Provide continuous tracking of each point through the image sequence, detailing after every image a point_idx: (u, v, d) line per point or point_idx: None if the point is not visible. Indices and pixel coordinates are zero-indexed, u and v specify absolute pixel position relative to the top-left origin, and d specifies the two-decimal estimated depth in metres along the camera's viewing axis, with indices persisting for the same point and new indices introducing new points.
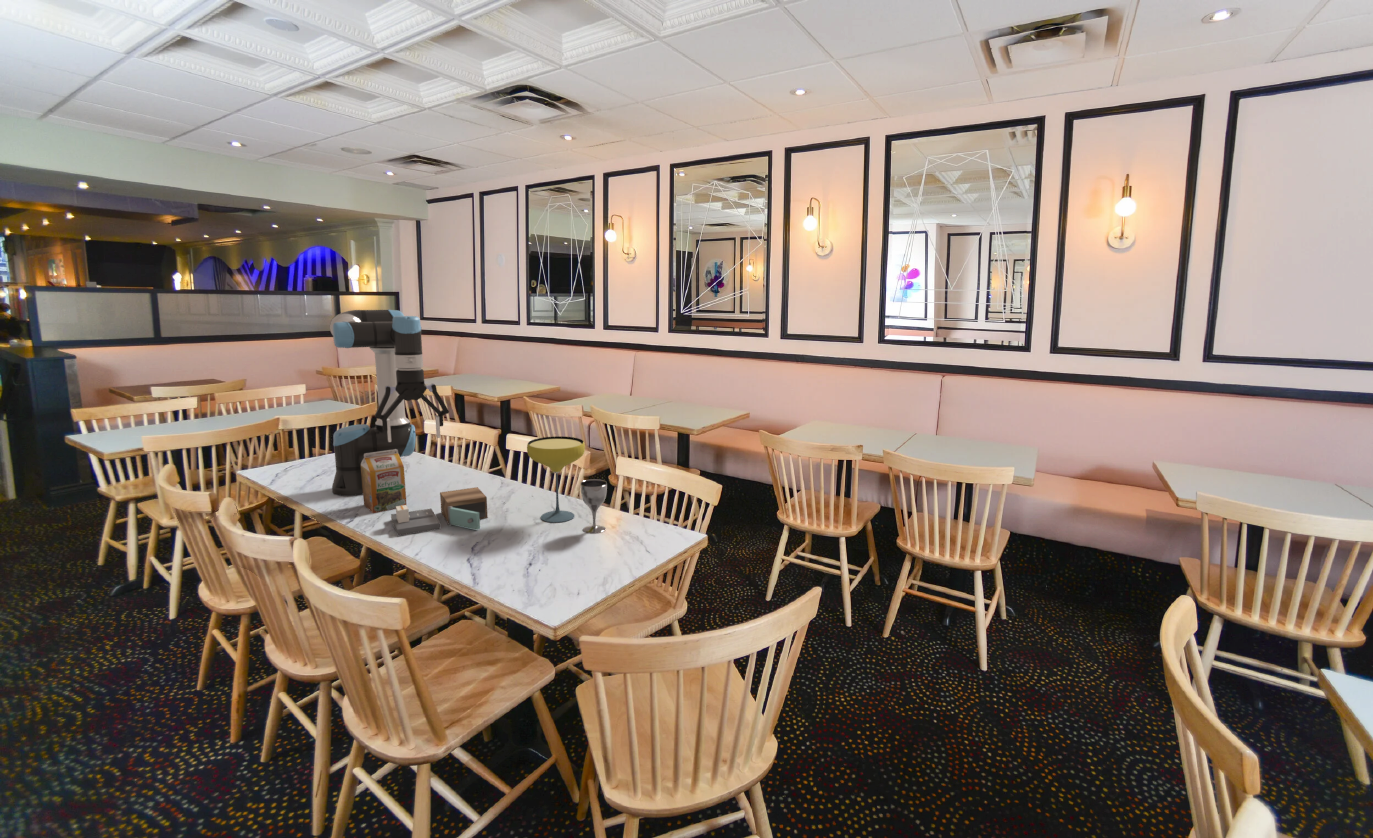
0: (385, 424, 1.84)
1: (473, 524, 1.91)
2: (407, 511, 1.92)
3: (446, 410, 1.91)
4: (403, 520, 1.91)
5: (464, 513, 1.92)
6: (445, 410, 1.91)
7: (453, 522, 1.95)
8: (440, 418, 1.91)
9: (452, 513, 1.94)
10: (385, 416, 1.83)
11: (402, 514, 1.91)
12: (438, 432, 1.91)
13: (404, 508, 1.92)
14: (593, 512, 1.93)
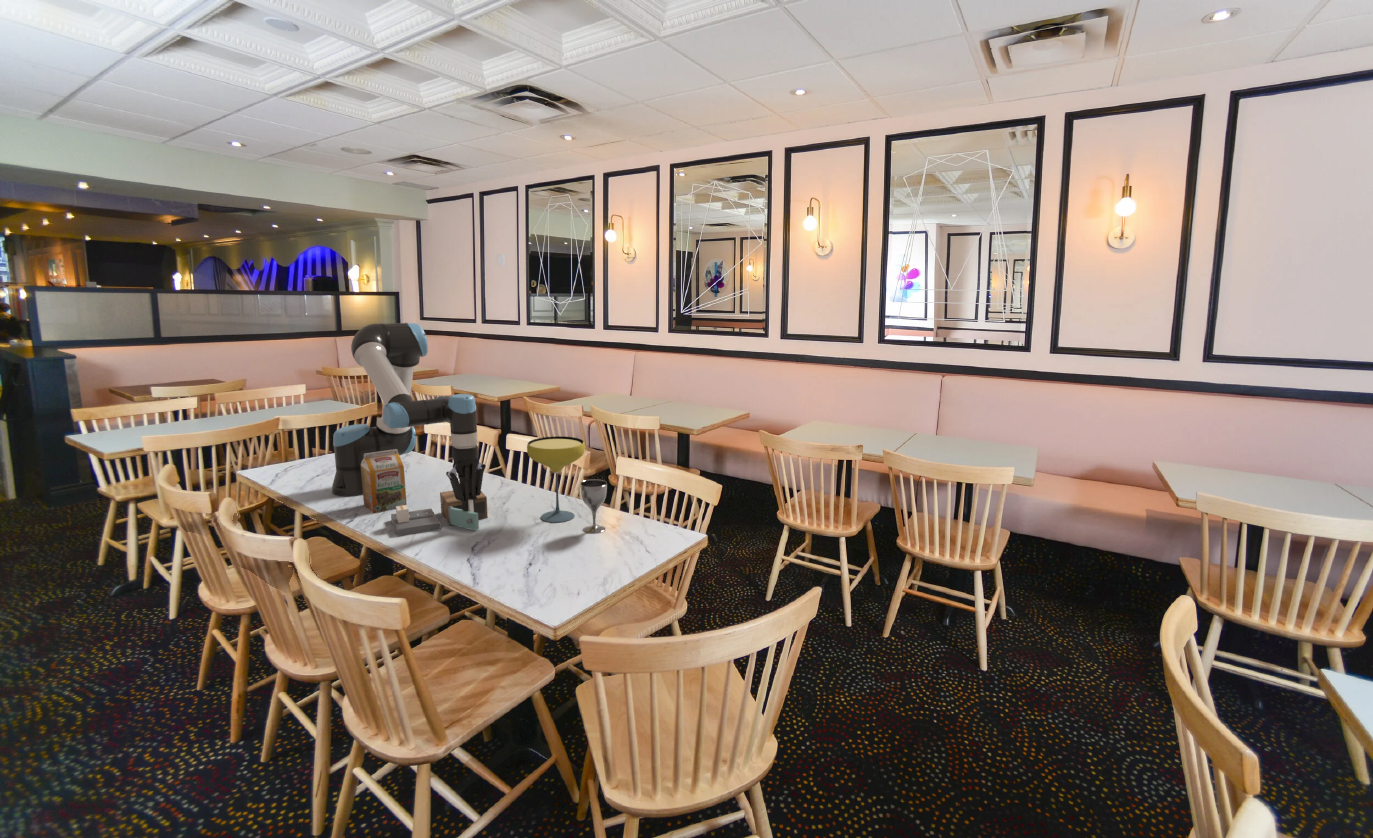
0: None
1: (472, 524, 1.91)
2: (407, 511, 1.92)
3: None
4: (403, 520, 1.91)
5: (463, 513, 1.92)
6: None
7: (453, 522, 1.95)
8: None
9: (452, 513, 1.94)
10: None
11: (402, 514, 1.91)
12: None
13: (404, 508, 1.92)
14: (593, 512, 1.93)
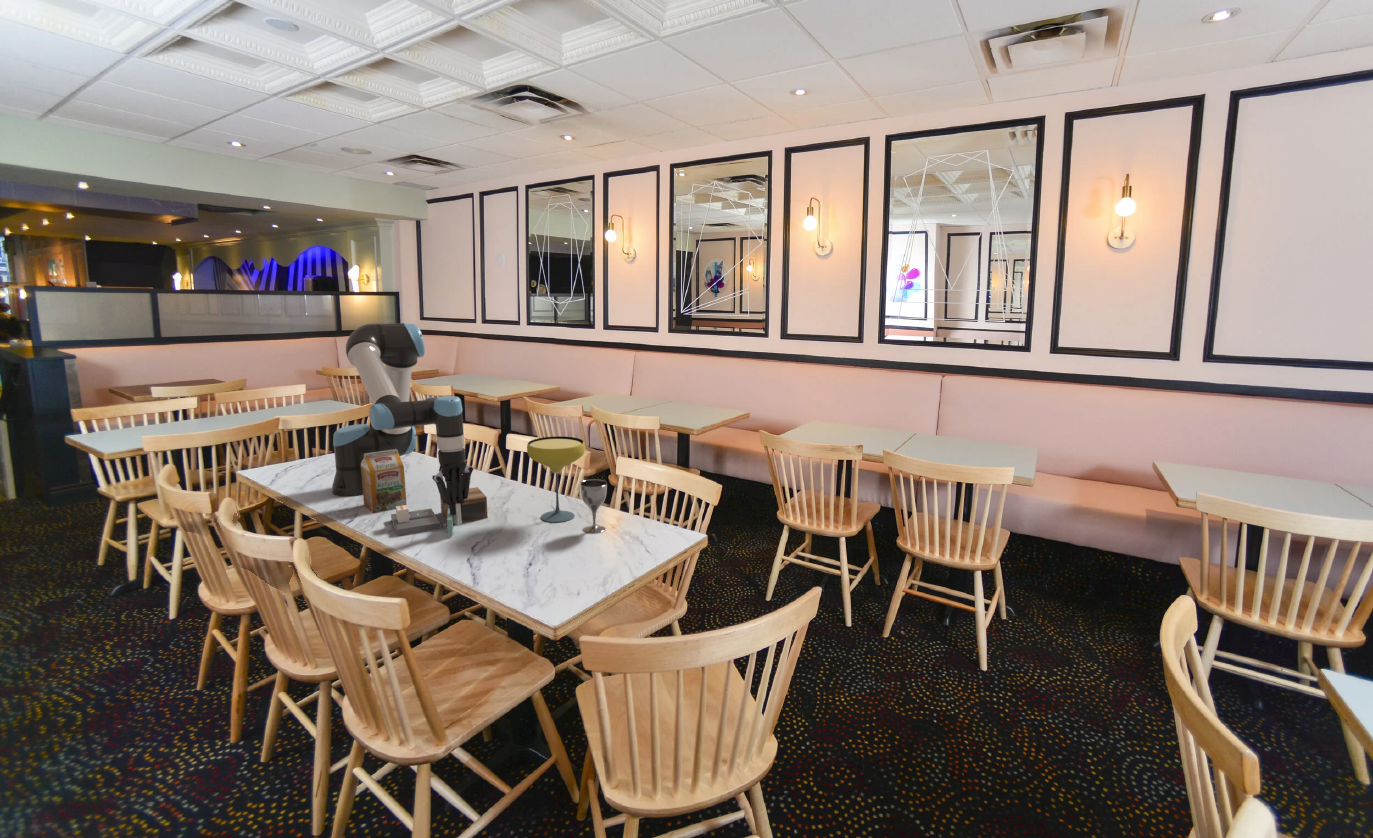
0: None
1: None
2: (407, 511, 1.92)
3: None
4: (403, 520, 1.91)
5: None
6: None
7: None
8: None
9: None
10: None
11: (402, 514, 1.91)
12: None
13: (404, 508, 1.92)
14: (593, 512, 1.93)
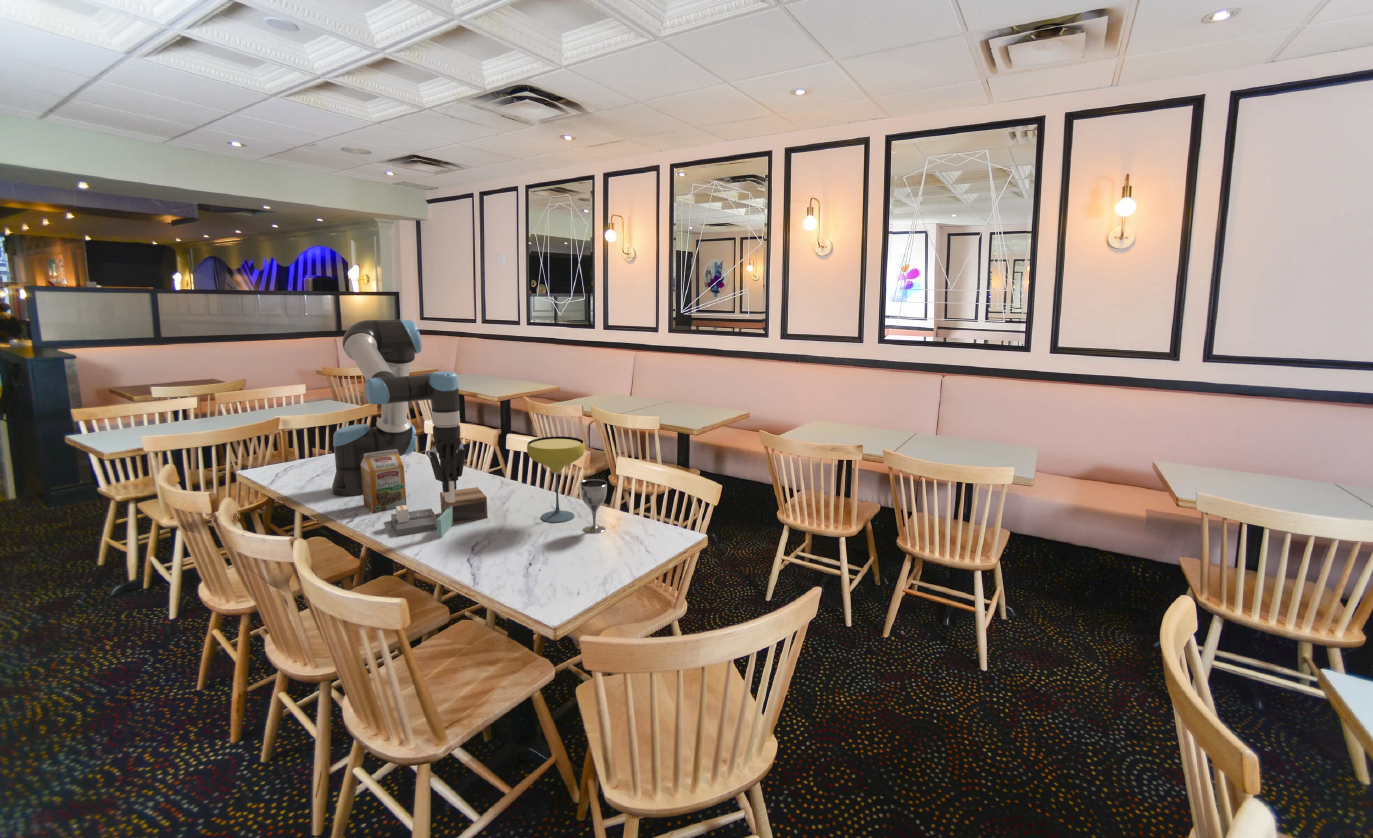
0: None
1: None
2: (407, 511, 1.92)
3: None
4: (403, 520, 1.91)
5: None
6: None
7: None
8: None
9: None
10: None
11: (402, 514, 1.91)
12: None
13: (404, 508, 1.92)
14: (593, 512, 1.93)
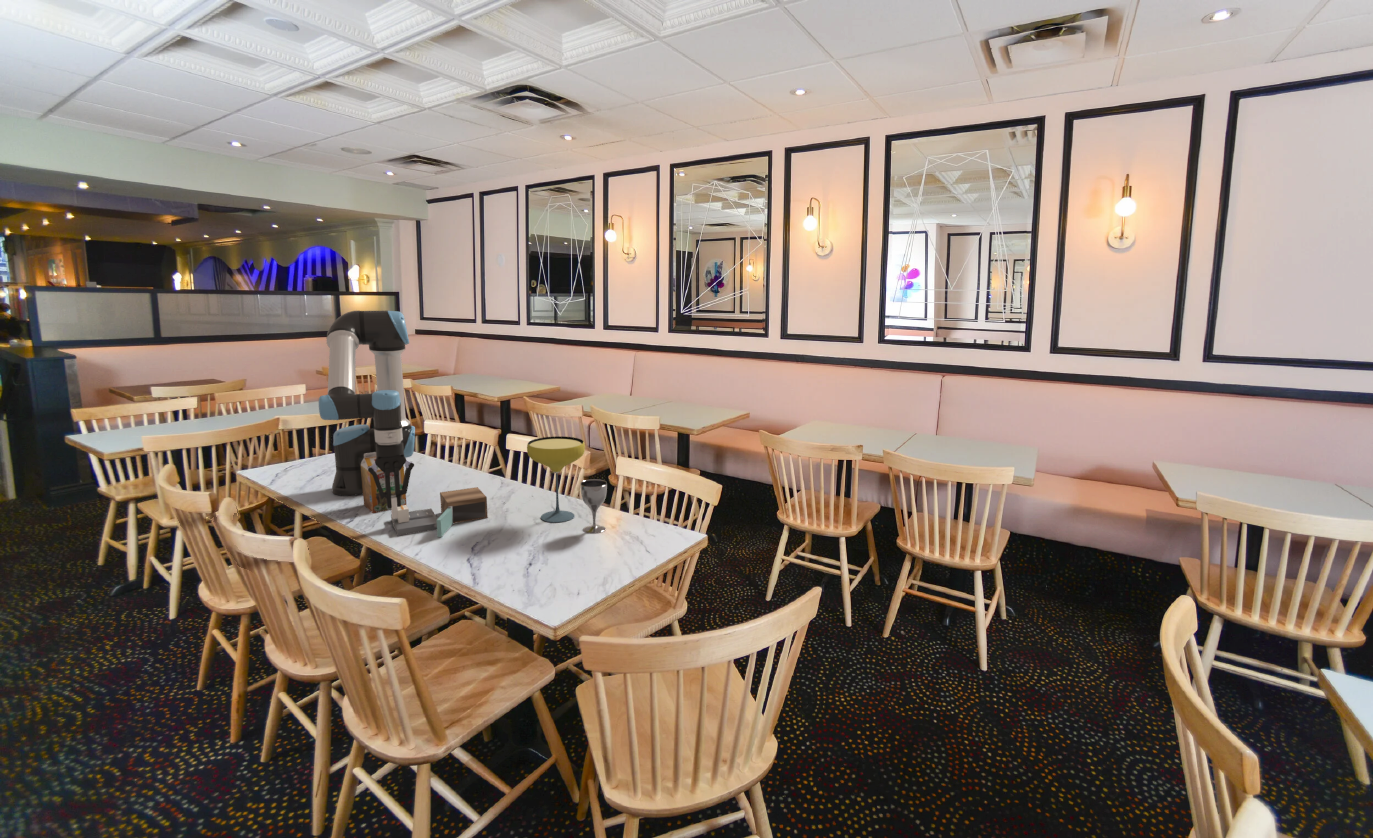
0: (389, 502, 1.90)
1: None
2: (407, 511, 1.92)
3: (405, 491, 1.91)
4: (403, 520, 1.92)
5: None
6: (404, 490, 1.91)
7: None
8: (398, 499, 1.91)
9: None
10: (388, 494, 1.89)
11: (403, 514, 1.91)
12: (396, 513, 1.91)
13: (404, 508, 1.92)
14: (593, 512, 1.93)
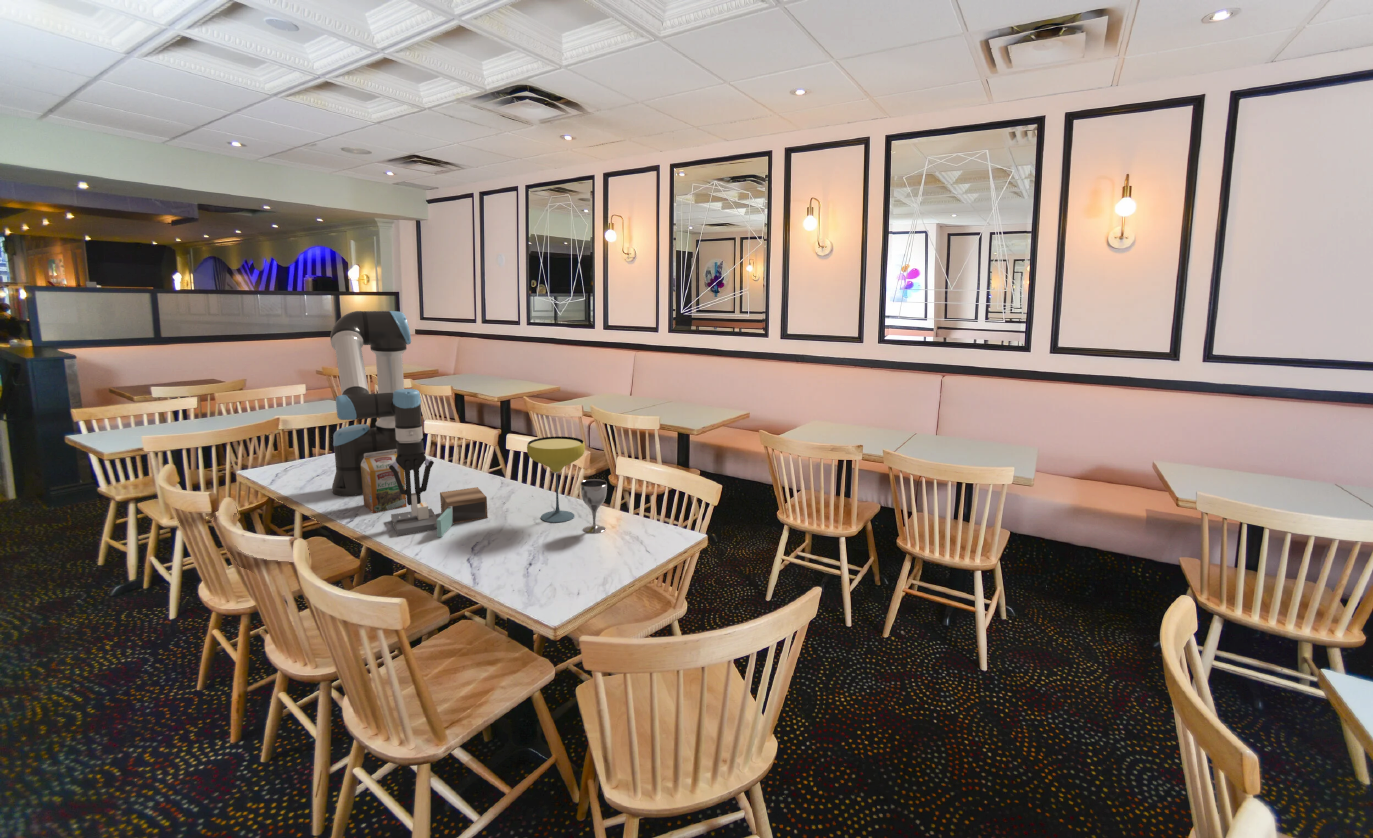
0: (409, 499, 1.93)
1: None
2: (427, 508, 1.95)
3: (425, 488, 1.94)
4: (423, 517, 1.94)
5: None
6: (424, 487, 1.94)
7: None
8: (417, 496, 1.94)
9: None
10: (408, 492, 1.92)
11: (422, 511, 1.94)
12: (415, 510, 1.94)
13: (424, 505, 1.95)
14: (593, 512, 1.93)
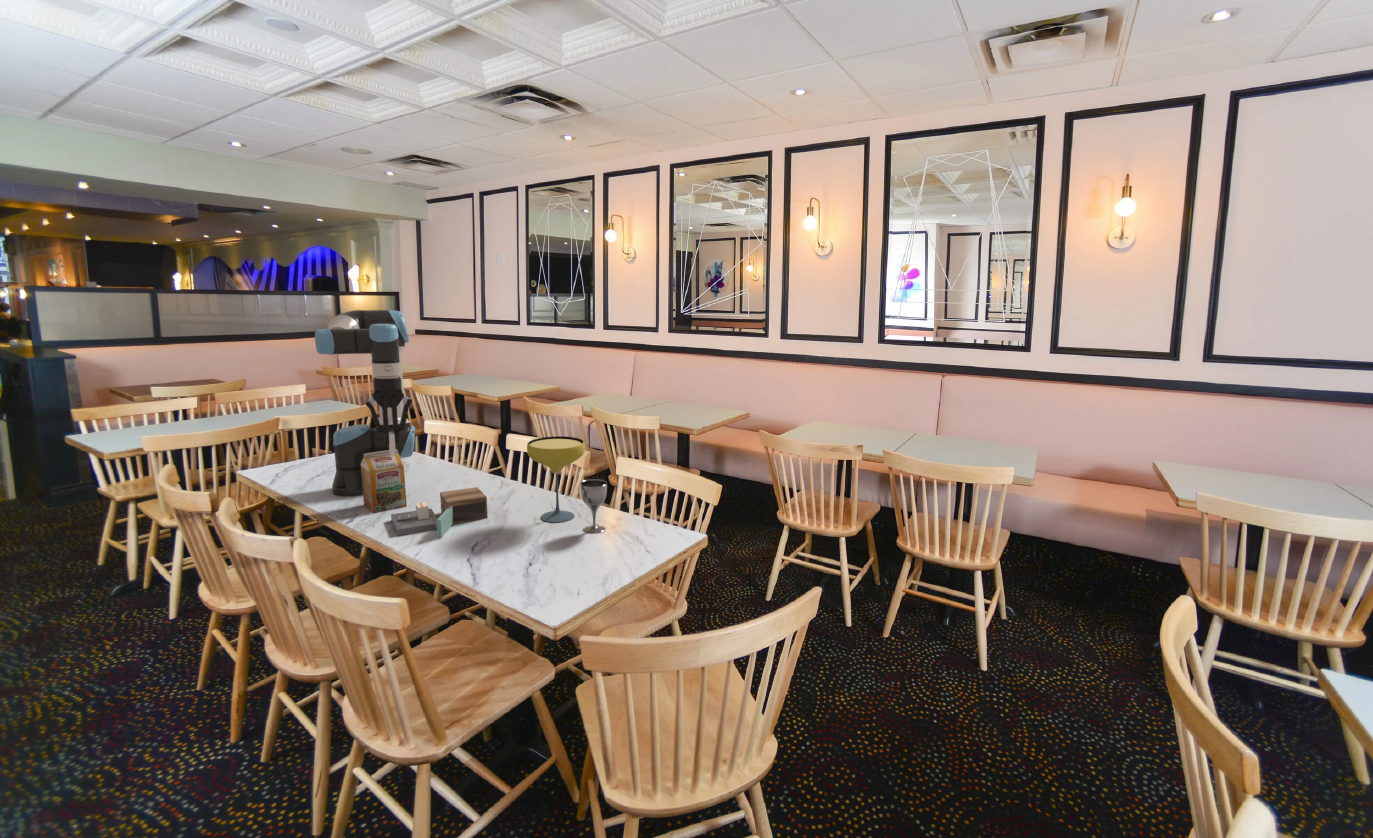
0: (387, 438, 1.88)
1: None
2: (427, 508, 1.95)
3: (403, 427, 1.90)
4: (423, 517, 1.94)
5: None
6: (402, 426, 1.89)
7: None
8: (395, 435, 1.89)
9: None
10: (386, 430, 1.87)
11: (422, 511, 1.94)
12: (393, 449, 1.89)
13: (424, 505, 1.95)
14: (593, 512, 1.93)
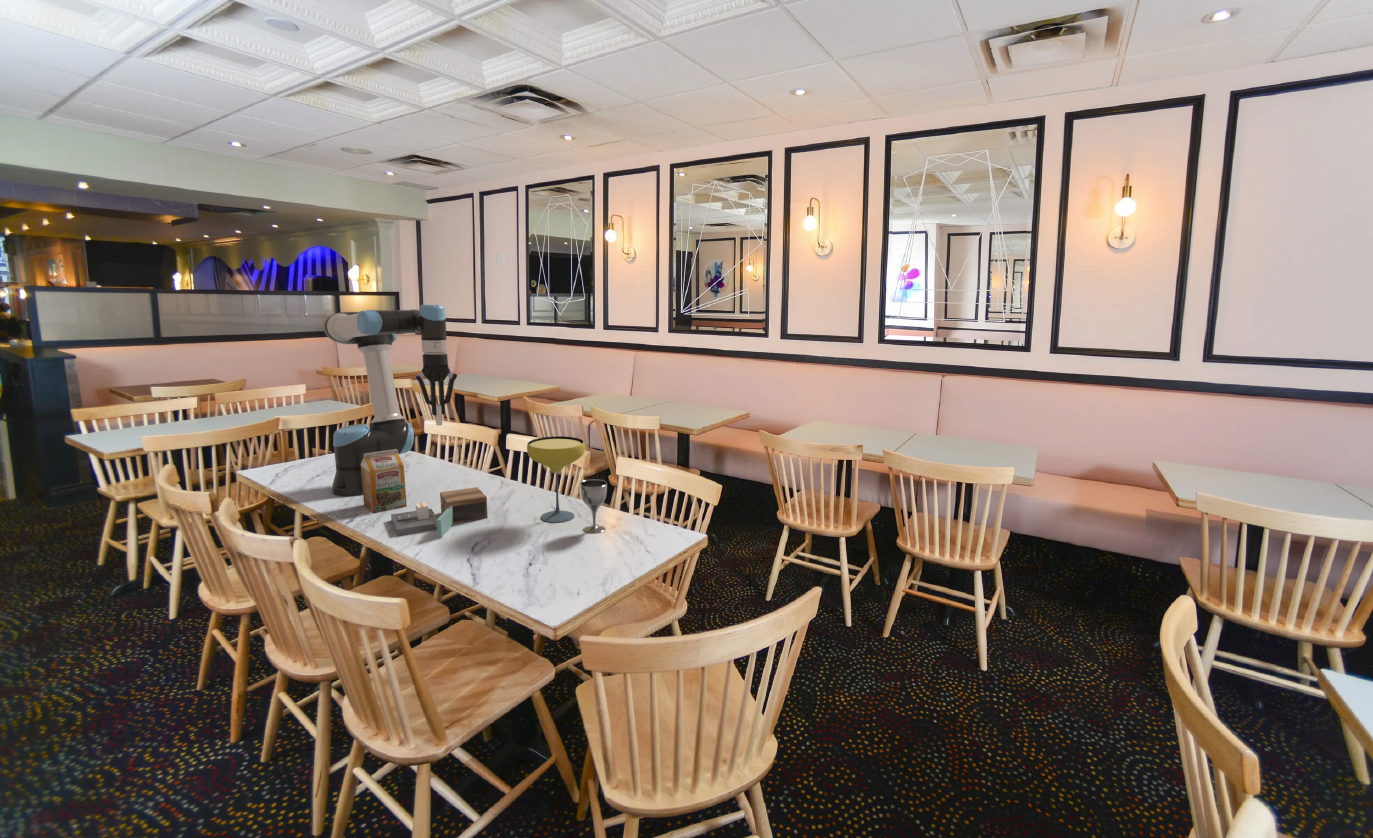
0: (434, 409, 2.05)
1: None
2: (427, 508, 1.95)
3: (449, 399, 2.06)
4: (423, 517, 1.94)
5: None
6: (448, 399, 2.06)
7: None
8: (442, 407, 2.06)
9: None
10: (433, 402, 2.04)
11: (422, 511, 1.94)
12: (440, 420, 2.06)
13: (424, 505, 1.95)
14: (593, 512, 1.93)
